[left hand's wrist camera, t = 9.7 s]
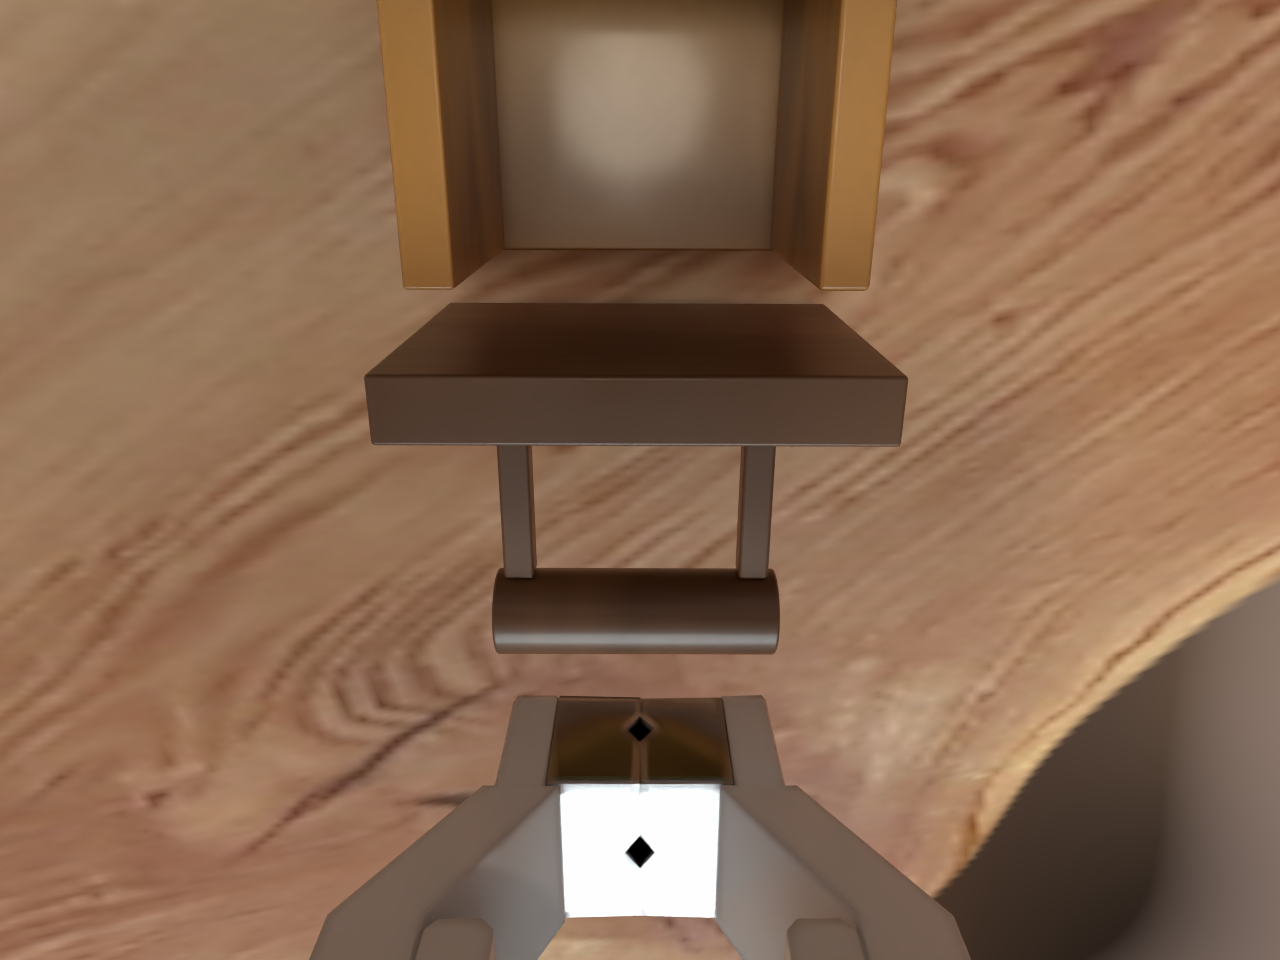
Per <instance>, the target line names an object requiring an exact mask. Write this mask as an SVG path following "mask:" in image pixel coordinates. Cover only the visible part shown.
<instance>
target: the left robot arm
mask: <svg viewBox="0 0 1280 960" xmlns="http://www.w3.org/2000/svg"><path fill="white" fill-rule="evenodd" d="M633 915H645V916H680V917H715V918H716V923H717V924H718V925H719V927H720V928H721V929H722V931H723V932H724V934H725V935H726V936H727V938H728V939H729V940H730V942H731V943H732V945H733V946H734V947H735V949H736V950H737V952H738V953H739V954H740V956H741V957H742V958H743V960H971V959H970V956H969V954H968V951H967V949H966V946H965V944H964V941H963V939H962V936H961V934H960V931H959V929H958V926H957V924H956V921H955V919H954V916H953V915H952V914H950V913H949V912H948V911H947V910H945V909H944V908H943V907H942V906H941V905H940V904H938V903H937V902H936V901H935V900H934V899H932V898H931V897H930V896H929V895H928V894H926V893H925V892H924V891H923V890H922V889H920V888H919V887H918V886H917V885H916V884H914V883H913V882H912V881H911V880H910V879H908V878H907V877H906V876H905V875H904V874H902V873H901V872H900V871H899V870H898V869H896V868H895V867H894V866H893V865H892V864H890V863H889V862H888V861H887V860H886V859H884V858H883V857H882V856H881V855H880V854H878V853H877V852H876V851H875V850H874V849H872V848H871V847H870V846H869V845H868V844H866V843H865V842H864V841H863V840H862V839H861V838H859V837H858V836H857V835H856V834H855V833H853V832H852V831H851V830H850V829H849V828H847V827H846V826H845V825H844V824H843V823H841V822H840V821H839V820H838V819H837V818H835V817H834V816H833V815H832V814H831V813H829V812H828V811H827V810H826V809H825V808H823V807H822V806H821V805H820V804H819V803H817V802H816V801H815V800H814V799H813V798H811V797H810V796H809V795H808V794H807V793H805V792H804V791H803V790H802V789H801V788H799V787H798V786H785V783H784V779H783V774H782V770H781V766H780V761H779V757H778V752H777V748H776V743H775V739H774V735H773V730H772V726H771V721H770V717H769V713H768V708H767V704H766V700H765V698H764V697H763V696H762V695H752V696H722V697H721V698H642V699H640V698H636V697H589V696H560V697H559V698H558V697H557V696H518V697H517V698H516V700H515V701H514V703H513V707H512V712H511V716H510V721H509V725H508V729H507V734H506V738H505V743H504V747H503V752H502V756H501V761H500V765H499V770H498V774H497V779H496V783H495V786H482V787H481V788H479V789H478V790H477V791H476V792H475V793H473V794H472V795H471V796H470V797H469V798H467V799H466V800H465V801H464V802H463V803H461V804H460V805H459V806H458V807H457V808H455V809H454V810H453V811H452V812H451V813H449V814H448V815H447V816H446V817H445V818H443V819H442V820H441V821H440V822H438V823H437V824H436V825H435V826H434V827H432V828H431V829H430V830H429V831H428V832H426V833H425V834H424V835H423V836H422V837H420V838H419V839H418V840H417V841H416V842H414V843H413V844H412V845H411V846H410V847H408V848H407V849H406V850H405V851H404V852H402V853H401V854H400V855H399V856H398V857H396V858H395V859H394V860H393V861H392V862H390V863H389V864H388V865H387V866H386V867H384V868H383V869H382V870H381V871H380V872H378V873H377V874H376V875H375V876H374V877H372V878H371V879H370V880H369V881H367V882H366V883H365V884H364V885H363V886H361V887H360V888H359V889H358V890H357V891H355V892H354V893H353V894H352V895H351V896H349V897H348V898H347V899H346V900H345V901H343V902H342V903H341V904H340V905H339V906H337V907H336V908H335V909H334V910H333V911H331V912H330V913H329V914H328V915H327V917H326V920H325V922H324V925H323V927H322V930H321V932H320V934H319V937H318V939H317V942H316V944H315V947H314V949H313V952H312V954H311V957H310V959H309V960H537V959H538V958H539V956H540V955H541V954H542V952H543V951H544V950H545V948H546V947H547V945H548V944H549V943H550V941H551V940H552V939H553V937H554V936H555V935H556V933H557V932H558V930H559V929H560V928H561V926H562V925H563V924H564V922H565V921H564V918H565V917H599V916H633Z"/></svg>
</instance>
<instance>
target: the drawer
mask: <svg viewBox="0 0 1280 960" xmlns="http://www.w3.org/2000/svg"><path fill="white" fill-rule="evenodd" d="M896 6H897V0H377V8H378V18H379V29H380V40H381V51H382V62H383V73H384V83H385V94H386V105H387V116H388V127H389V138H390V148H391V159H392V170H393V181H394V192H395V203H396V213H397V224H398V235H399V246H400V257H401V268H402V278H403V286H404V288H405V289H454V288H455V287H456V286H457V285H459V284H460V283H461V282H462V281H464V280H465V279H466V278H468V277H469V276H470V275H471V274H473V273H474V272H475V271H477V270H478V269H479V268H480V267H482V266H483V265H484V264H485V263H487V262H488V261H489V260H491V259H492V258H493V257H494V256H496V255H497V254H498V253H500V252H501V251H502V250H718V251H773V252H774V253H776V254H777V255H778V256H779V257H781V258H782V259H783V260H784V261H785V262H787V263H788V264H789V265H790V266H792V267H793V268H794V269H795V270H797V271H798V272H799V273H800V274H802V275H803V276H804V277H805V278H807V279H808V280H809V281H810V282H812V283H813V284H814V285H815V286H817V287H818V288H819V289H821V290H823V291H864V290H867V289H868V288H869V286H870V275H871V265H872V255H873V244H874V234H875V224H876V213H877V203H878V193H879V182H880V172H881V162H882V151H883V141H884V131H885V120H886V110H887V100H888V89H889V79H890V69H891V58H892V48H893V37H894V27H895V17H896ZM364 381H365V389H366V398H367V407H368V416H369V425H370V434H371V442H372V444H374V445H497V456H498V474H499V491H500V508H501V525H502V543H503V560H504V568H500V569H499V570H498V572H497V575H496V579H495V584H494V591H493V603H492V631H493V641H494V646H495V649H496V652H497V653H499V654H774V653H775V652H776V649H777V646H778V640H779V628H780V605H779V591H778V584H777V579H776V575H775V572H774V570H773V569H768V563H769V547H770V532H771V516H772V500H773V484H774V468H775V452H776V446H859V447H897V446H900V443H901V437H902V428H903V420H904V411H905V403H906V394H907V385H908V378H907V376H906V375H904V374H903V373H902V372H901V371H900V370H899V369H898V368H896V367H895V366H894V365H893V364H892V363H891V362H889V361H888V360H887V359H886V358H885V357H884V356H883V355H881V354H880V353H879V352H878V351H877V350H876V349H875V348H873V347H872V346H871V345H870V344H869V343H868V342H866V341H865V340H864V339H863V338H862V337H861V336H860V335H858V334H857V333H856V332H855V331H854V330H853V329H852V328H850V327H849V326H848V325H847V324H846V323H845V322H843V321H842V320H841V319H840V318H839V317H838V316H837V315H835V314H834V313H833V312H832V311H831V310H830V309H828V308H827V307H826V306H825V305H823V304H609V303H450V304H449V305H447V306H446V307H445V308H444V309H443V310H442V311H440V312H439V313H438V314H437V315H436V316H434V317H433V318H432V319H431V320H430V321H429V322H427V323H426V324H425V325H424V326H423V327H421V328H420V329H419V330H418V331H417V332H416V333H414V334H413V335H412V336H411V337H410V338H408V339H407V340H406V341H405V342H404V343H403V344H401V345H400V346H399V347H398V348H397V349H395V350H394V351H393V352H392V353H391V354H390V355H388V356H387V357H386V358H385V359H384V360H382V361H381V362H380V363H379V364H378V365H377V366H375V367H374V368H373V369H372V370H371V371H369V372H368V373H367V374H366V375H365V377H364ZM532 445H533V446H741V464H740V485H739V506H738V527H737V547H736V569H705V568H536V566H537V558H536V535H535V512H534V489H533V465H532Z"/></svg>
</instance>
